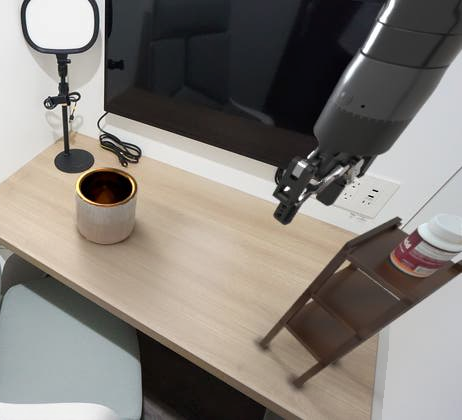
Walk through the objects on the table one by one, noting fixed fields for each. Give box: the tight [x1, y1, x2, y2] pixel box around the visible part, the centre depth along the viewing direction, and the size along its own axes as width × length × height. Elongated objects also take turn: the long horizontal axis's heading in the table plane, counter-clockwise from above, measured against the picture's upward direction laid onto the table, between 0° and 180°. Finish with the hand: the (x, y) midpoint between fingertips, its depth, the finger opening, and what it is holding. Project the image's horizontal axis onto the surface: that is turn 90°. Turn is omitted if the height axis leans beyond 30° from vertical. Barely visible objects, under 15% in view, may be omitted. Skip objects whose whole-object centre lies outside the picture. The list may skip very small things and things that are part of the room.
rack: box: [258, 215, 462, 389], centre depth 57 cm, size 10×12×36 cm
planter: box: [74, 166, 139, 245], centre depth 92 cm, size 18×18×16 cm
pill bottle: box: [390, 212, 462, 277], centre depth 42 cm, size 5×5×8 cm
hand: (302, 210), depth 44 cm, fingers open, 8 cm apart
